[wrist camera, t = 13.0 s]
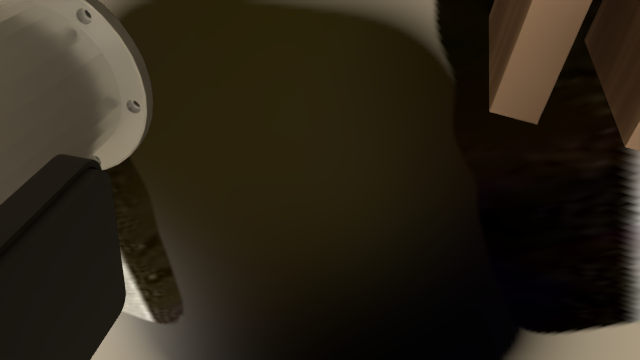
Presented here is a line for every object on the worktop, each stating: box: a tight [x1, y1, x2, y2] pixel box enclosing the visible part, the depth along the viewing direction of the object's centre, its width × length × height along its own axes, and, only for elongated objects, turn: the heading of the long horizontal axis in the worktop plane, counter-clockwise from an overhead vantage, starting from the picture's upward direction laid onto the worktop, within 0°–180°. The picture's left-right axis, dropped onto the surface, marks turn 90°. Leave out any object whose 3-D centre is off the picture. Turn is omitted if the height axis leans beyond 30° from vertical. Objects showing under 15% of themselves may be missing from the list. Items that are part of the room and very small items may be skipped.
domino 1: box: [489, 0, 592, 124], centre depth 22 cm, size 2×5×10 cm, turn 170°
